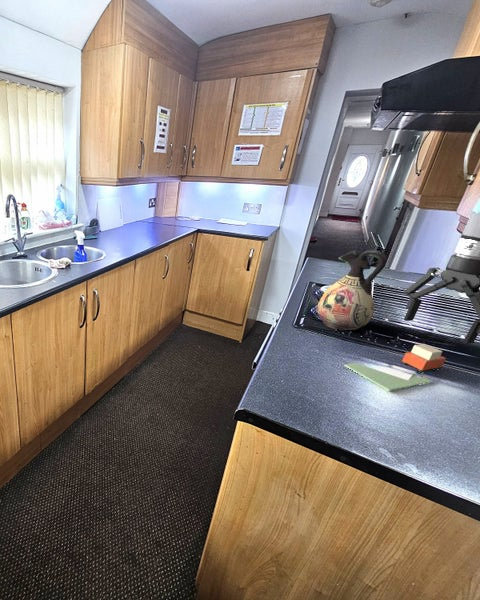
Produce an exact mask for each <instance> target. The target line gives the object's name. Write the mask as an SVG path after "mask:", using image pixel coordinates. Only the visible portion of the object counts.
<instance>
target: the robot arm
mask: <svg viewBox="0 0 480 600" xmlns="http://www.w3.org/2000/svg"><path fill="white" fill-rule="evenodd" d="M466 222H467V223H466V225H465V226H464V229H463V231H462V233H461V235H460V237H459V239H458V242H457V243H456V245H455V247H454V249H453V253H454V254H452V255H451V256H450V257H449V260H448V261H447V264H446V266H445V269H444V270H442V269H441V268H440V267H430V268H429V269H428V270H427V271H426V272H425V274H424V275H423V276H421V277H420V278H419V279H418V280H416V281H415V282H413V283H412V284H411V285H409V286H408V288H406V289H405V290H404V291H402V292H403V295H406V296H407V297H409V299H408V301H407V303H406V305H405V309H407V311H406V313H405V316H404V318H403V321H405V322H409V321H414V319H415V317H416V315H417V313H418V311H419V309H420V306H421V304H422V302H423V299H421V298H423V297H425V296H427V295H430V294H432V293H435V292H437V291H439V290H441V289H444V288H446V290H449V291H454V292H456V293H459V294H465V296H466V297H467V298H468V299H469V301H470V303H471V305H472V307H473V309H474V311H475V313H476V315H477V317H478V318H479V319H474V321H473V323H472V325H471V327H470V328H469V330H468V332H467V333H466V336H465V337H464V339H463V341H462V343H463V344H465V345H468V344H474V343H475V340H476V339H477V337H478V335H480V198H479V199H478V200H477V201H476V203H475V206H474V207H473V209H472V210H471V213H470V215H469V218H468V221H466ZM439 276H440V278H441V280H440V281H438V282H436V283H434V284H432V285H430V286H428V287H426V288H423V287H425V286H426V285H427V284H428V283H430V282H431V281H432V280H433V279H435V278H436V277H439ZM422 288H423V289H422ZM420 289H421V290H420Z"/></svg>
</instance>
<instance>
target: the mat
mask: <svg viewBox="0 0 480 600" xmlns="http://www.w3.org/2000/svg"><path fill="white" fill-rule="evenodd" d="M343 366H344V367H345V368H347V369H348V368H349V370H350V369H351V370H350V371H352V370H353V371H352V372H354V373H355V372H356V373H355V374H357V373H358V374H357V375H358V376H360V377H362V376H363V378H364V379H366V380H368V381H369V380H370V381H369V382H370V383H373V384H374V385H376V386H378V387H380V388H382V389H384V390H385V391H387V392H394V391H398V389H399V390H403V389H402V388H404V389H407V388H406V387H409V388H411V387H410V386H414V387H416V386H415V385H419V384H423V383H428V382H432V381H433V380H431V379H430V378H427V377H426V376H423V377H420V378H419V377H417V375H415V374H414V373H413V374H414V375H413V374H412V376H410V377H409V379H405V378H402V377H399V376H396V375H393V374H390V373H387V372H384V371H381V370H378V369H375V368H372V367H369V366H366V365H365V364H361V363H359V362H351V363H346V364H344V365H343ZM432 383H433V382H432ZM419 386H420V385H419ZM393 390H394V391H393Z"/></svg>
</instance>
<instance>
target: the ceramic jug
mask: <svg viewBox="0 0 480 600" xmlns="http://www.w3.org/2000/svg"><path fill="white" fill-rule="evenodd" d="M367 257H373V258H376V259H377V260H378V264H377V266H376V267H375V268H374V270H373V271H372V272H371V273H370V274H369V275H367V278H365V273H364V270H370V269H371V264H370V262H369V261H368V260H367ZM338 260H340V261H342V262H343V263H346V264H347V265H349V266H350V270H349V272H348V273H347V274H346V275H345V276H343V277H342V278H340V279H338V280H337V281H336V282H334V283H333V284H332V285H330V286H329V287H328V288H327V289H326V290H325V292H323V295H322V296H321V297H320V299H319V301H318V304H317V313H318V316H319V318H320V320H321V321H322V323H323V324H324V325H325V326H327V327H329V328H330V329H334V330H337V329H339V330H338V331H342V330H354V331H356V330H358V329H360V328H362V327H364V326H366V325H368V324H369V322H370V321H371V320H372V318H373V315H374V312H375V302H374V297H373V294H372V290H373V285H372V283H373V281H374V280H375V278H376V277H377V276H378V275H379V274H380V273H381V272H382V271H383V269H384V268H385V266H386V264H387V256H386V254H385V253H384V252H382V251H381V250H377V249H369V250H365V251H363V252H362V253H361V254H360V255H359V253H358V251H357V250H356V249H354V250H352V251H348V252H347V253H345V254H343V255H341V256H339V257H338ZM369 320H370V321H369Z"/></svg>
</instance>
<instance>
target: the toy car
mask: <svg viewBox="0 0 480 600" xmlns="http://www.w3.org/2000/svg"><path fill="white" fill-rule="evenodd" d="M442 353H443V351H442V350H440V349H437V348H436V347H433V346H432V345H428V344H425V343H419V344H414V345H413V347H412V349H411V351H406V352H405V353H404V355H403V358H402V360H401V364H403V365H409V366H412V367H413V368H416V369H417V371H418V372H420V373H422V372H425V373H427V372H428V370H431V369H434V370H437V369H439V370H441V368H442V367H443V366H444V363H445V362H446V360H447V358H446V357H444V356H442ZM437 371H438V370H437ZM418 372H417V373H418ZM420 373H419V374H420Z"/></svg>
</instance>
